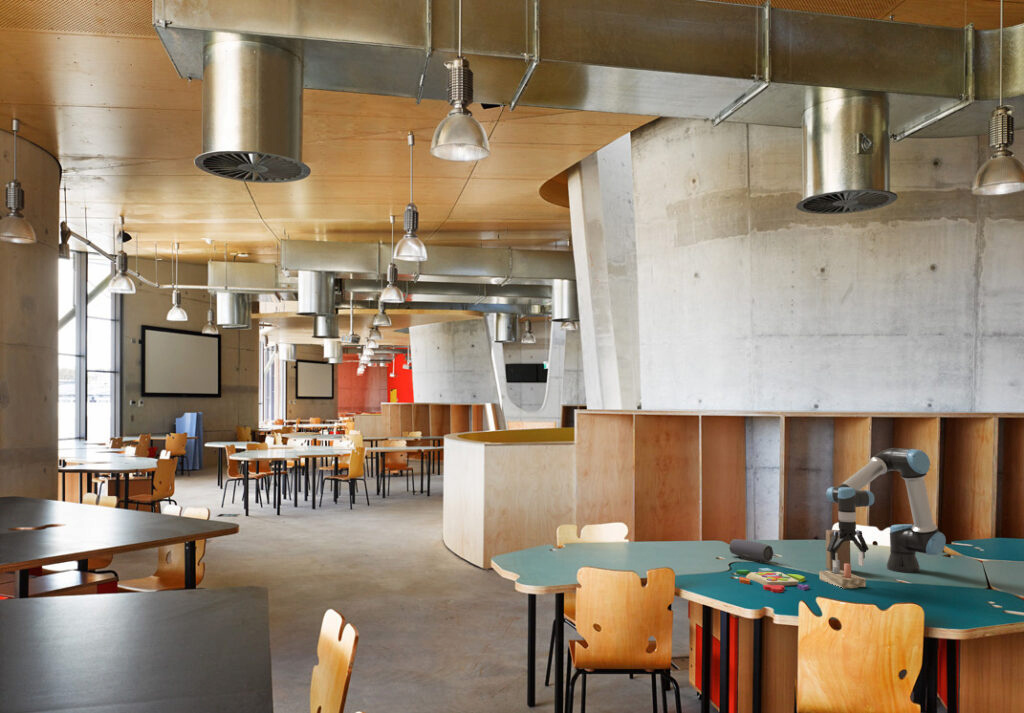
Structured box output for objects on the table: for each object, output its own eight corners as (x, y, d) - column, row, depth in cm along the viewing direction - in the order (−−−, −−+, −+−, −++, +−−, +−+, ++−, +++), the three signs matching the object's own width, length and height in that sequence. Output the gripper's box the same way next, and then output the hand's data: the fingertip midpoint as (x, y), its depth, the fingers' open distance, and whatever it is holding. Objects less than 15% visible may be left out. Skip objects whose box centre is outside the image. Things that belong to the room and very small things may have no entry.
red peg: (848, 584, 357) (848, 563, 357) (852, 586, 354) (852, 564, 355) (842, 585, 356) (842, 563, 357) (846, 586, 353) (846, 564, 354)
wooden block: (851, 573, 381) (850, 533, 382) (829, 572, 383) (829, 532, 384) (846, 569, 391) (845, 530, 392) (825, 568, 393) (825, 529, 394)
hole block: (841, 578, 370) (841, 570, 370) (865, 587, 352) (865, 578, 352) (819, 579, 367) (819, 571, 368) (842, 588, 350) (842, 579, 350)
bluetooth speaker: (774, 562, 406) (774, 543, 406) (763, 564, 400) (763, 545, 401) (739, 555, 424) (739, 537, 425) (728, 557, 419) (728, 538, 420)
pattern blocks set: (718, 576, 374) (718, 570, 374) (771, 571, 387) (771, 565, 387) (773, 594, 338) (772, 587, 339) (829, 588, 352) (829, 581, 352)
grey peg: (837, 580, 366) (836, 559, 366) (841, 581, 363) (840, 560, 363) (831, 580, 365) (831, 559, 366) (835, 582, 362) (835, 560, 363)
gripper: (865, 518, 363) (866, 563, 362) (818, 520, 358) (819, 565, 357) (875, 521, 356) (877, 566, 355) (828, 522, 351) (829, 569, 350)
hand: (848, 566), depth 356 cm, fingers open, 13 cm apart
